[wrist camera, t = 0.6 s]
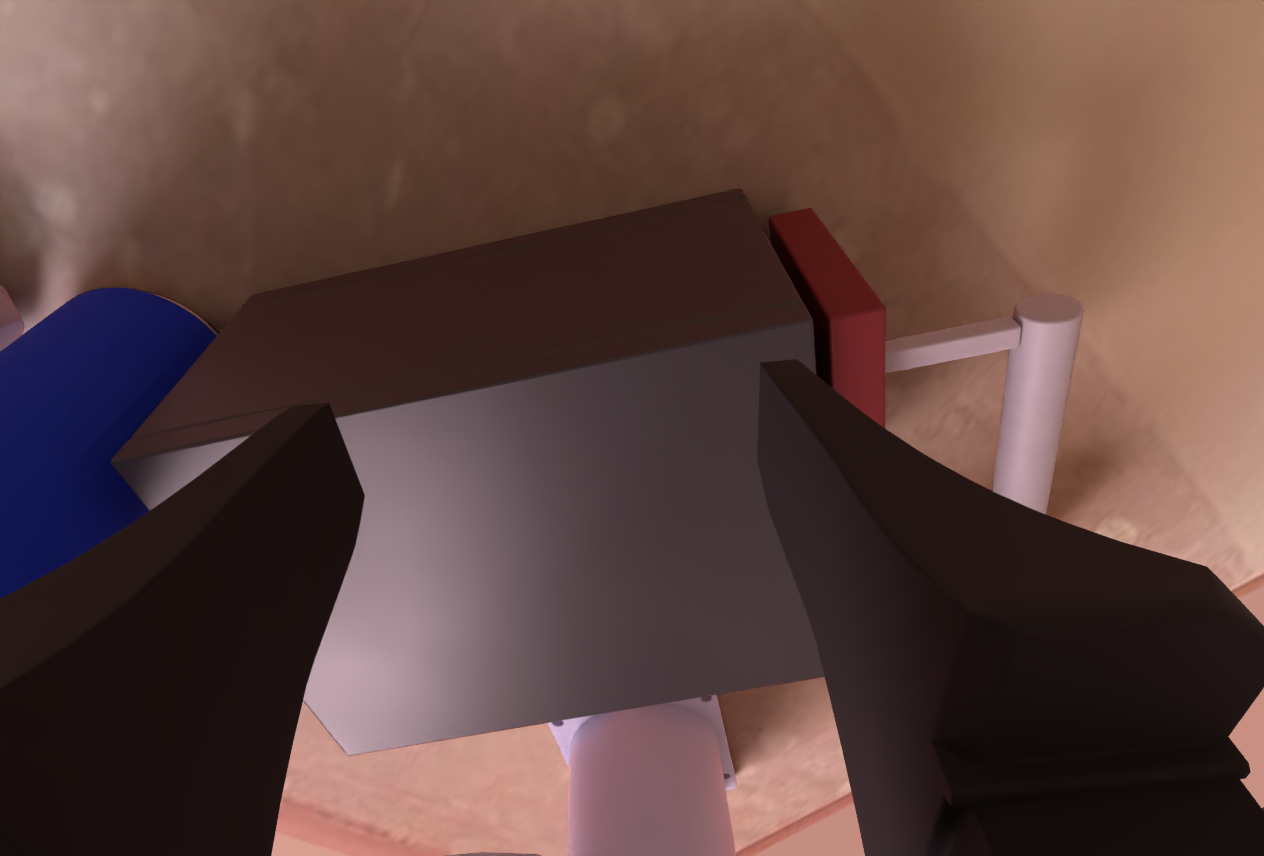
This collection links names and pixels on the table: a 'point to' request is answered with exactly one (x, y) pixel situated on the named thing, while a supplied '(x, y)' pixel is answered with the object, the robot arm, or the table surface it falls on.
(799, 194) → the table surface
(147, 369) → the beverage can
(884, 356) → the drawer
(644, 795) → the robot arm
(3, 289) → the smooth white sculpture
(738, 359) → the coffee machine
